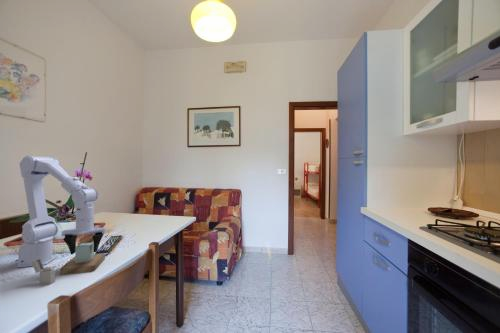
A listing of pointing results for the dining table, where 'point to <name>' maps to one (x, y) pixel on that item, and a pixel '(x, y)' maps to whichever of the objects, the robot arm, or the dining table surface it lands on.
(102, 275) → the dining table surface
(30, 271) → the dining table surface
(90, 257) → the teal block
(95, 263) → the walnut base
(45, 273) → the lighter
